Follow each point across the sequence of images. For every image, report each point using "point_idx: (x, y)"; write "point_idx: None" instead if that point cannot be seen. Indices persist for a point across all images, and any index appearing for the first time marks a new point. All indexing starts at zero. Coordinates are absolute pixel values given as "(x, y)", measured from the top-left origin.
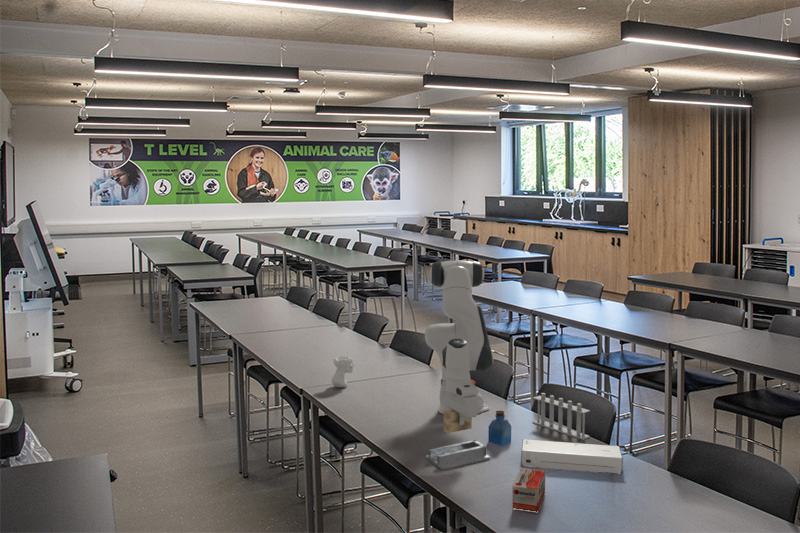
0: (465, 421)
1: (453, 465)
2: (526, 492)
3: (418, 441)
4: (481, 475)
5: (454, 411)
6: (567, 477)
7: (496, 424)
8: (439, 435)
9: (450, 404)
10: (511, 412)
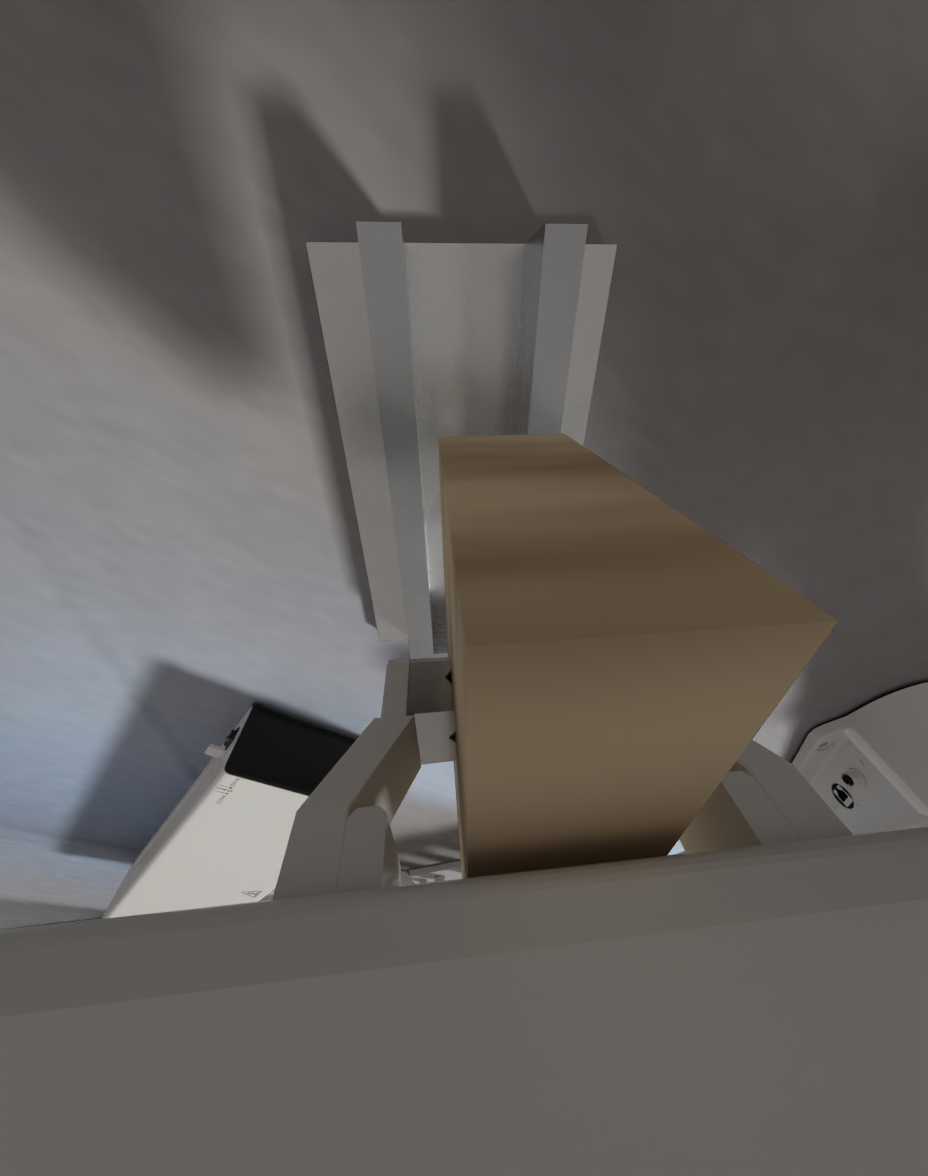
0: None
1: (332, 378)
2: None
3: (864, 396)
4: (161, 490)
5: (565, 838)
6: (111, 771)
7: None
8: (794, 562)
9: (900, 1050)
10: None
